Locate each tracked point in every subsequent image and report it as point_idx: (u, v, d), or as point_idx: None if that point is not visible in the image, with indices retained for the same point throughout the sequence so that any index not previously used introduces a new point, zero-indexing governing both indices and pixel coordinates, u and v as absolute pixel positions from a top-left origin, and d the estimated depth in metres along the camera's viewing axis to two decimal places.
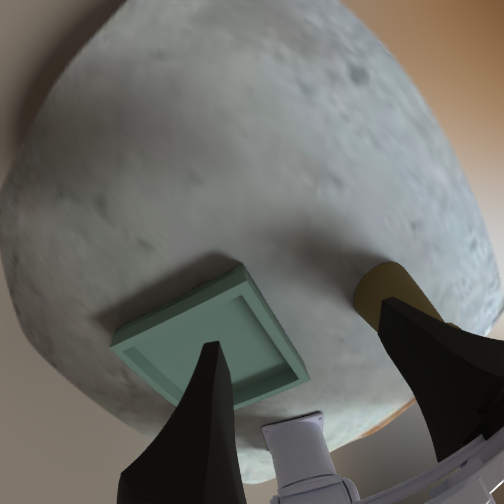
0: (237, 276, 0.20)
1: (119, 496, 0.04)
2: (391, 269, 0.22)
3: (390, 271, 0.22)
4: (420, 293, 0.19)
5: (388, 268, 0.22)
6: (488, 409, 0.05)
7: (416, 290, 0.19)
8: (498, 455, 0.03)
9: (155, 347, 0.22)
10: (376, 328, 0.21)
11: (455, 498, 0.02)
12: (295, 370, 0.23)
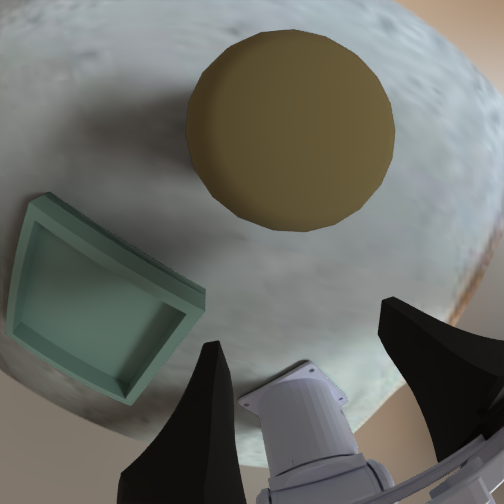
0: None
1: (119, 496, 0.04)
2: None
3: None
4: None
5: None
6: (488, 409, 0.05)
7: None
8: (498, 455, 0.03)
9: (42, 322, 0.17)
10: None
11: (455, 498, 0.02)
12: (167, 301, 0.16)
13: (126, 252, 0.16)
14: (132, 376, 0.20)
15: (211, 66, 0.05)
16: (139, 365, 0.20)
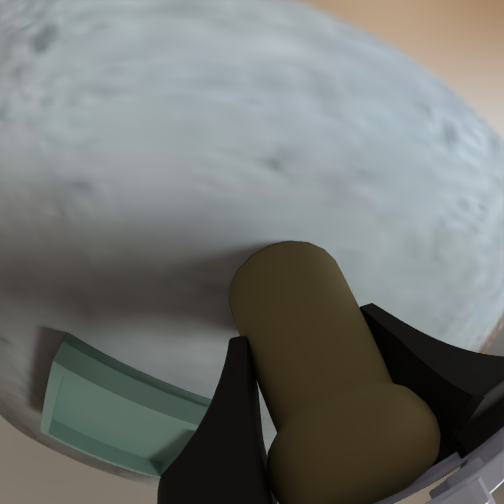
0: None
1: (162, 500, 0.04)
2: (264, 262, 0.12)
3: (262, 266, 0.12)
4: (313, 304, 0.10)
5: (260, 261, 0.13)
6: (464, 427, 0.05)
7: (304, 299, 0.10)
8: (498, 455, 0.03)
9: (75, 423, 0.17)
10: None
11: (455, 498, 0.02)
12: None
13: (162, 394, 0.15)
14: (165, 458, 0.20)
15: (306, 486, 0.05)
16: (172, 453, 0.19)
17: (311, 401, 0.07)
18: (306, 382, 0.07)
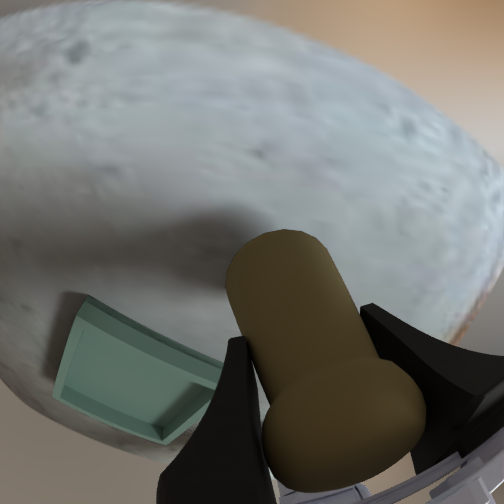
0: None
1: (161, 500, 0.04)
2: (259, 248, 0.13)
3: (257, 252, 0.13)
4: (305, 285, 0.10)
5: (255, 247, 0.13)
6: (464, 426, 0.05)
7: (296, 281, 0.11)
8: (498, 455, 0.03)
9: (86, 387, 0.21)
10: None
11: (455, 498, 0.02)
12: (204, 384, 0.19)
13: (167, 348, 0.19)
14: (167, 423, 0.24)
15: (299, 451, 0.05)
16: (174, 416, 0.23)
17: (303, 373, 0.07)
18: (298, 355, 0.08)
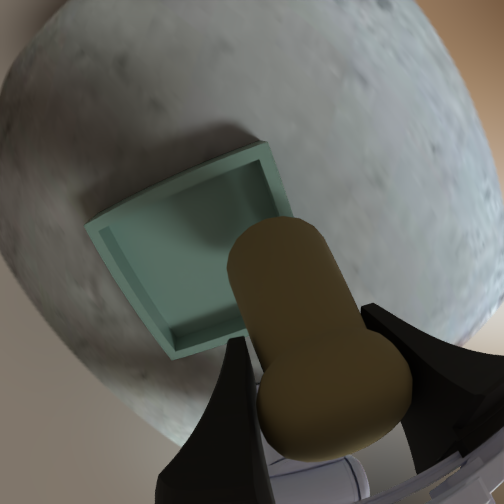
0: (255, 144, 0.16)
1: (159, 500, 0.04)
2: (260, 232, 0.14)
3: (258, 235, 0.14)
4: (301, 264, 0.11)
5: (256, 231, 0.14)
6: (465, 426, 0.05)
7: (294, 260, 0.12)
8: (498, 455, 0.03)
9: (138, 239, 0.19)
10: None
11: (455, 498, 0.02)
12: None
13: None
14: (190, 332, 0.22)
15: (292, 408, 0.06)
16: (208, 325, 0.22)
17: (297, 339, 0.08)
18: (293, 324, 0.09)
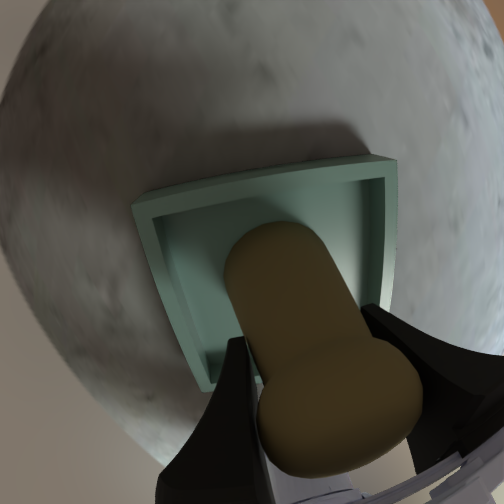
0: (376, 157, 0.13)
1: (159, 500, 0.04)
2: (257, 237, 0.14)
3: (255, 241, 0.13)
4: (301, 270, 0.11)
5: (253, 237, 0.14)
6: (465, 426, 0.05)
7: (293, 266, 0.11)
8: (498, 455, 0.03)
9: (199, 239, 0.14)
10: None
11: (455, 498, 0.02)
12: None
13: None
14: None
15: (294, 425, 0.06)
16: None
17: (298, 350, 0.08)
18: (293, 334, 0.08)
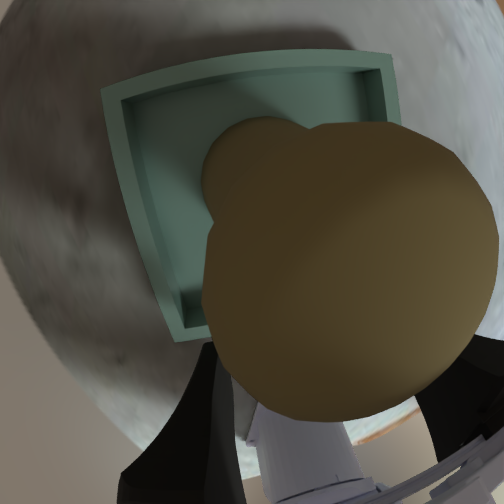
0: None
1: (119, 496, 0.04)
2: (239, 125, 0.11)
3: (236, 128, 0.11)
4: (286, 127, 0.08)
5: (234, 127, 0.11)
6: (488, 409, 0.05)
7: (276, 127, 0.08)
8: (498, 455, 0.03)
9: (174, 136, 0.11)
10: None
11: (455, 498, 0.02)
12: None
13: None
14: None
15: (260, 212, 0.03)
16: None
17: None
18: None
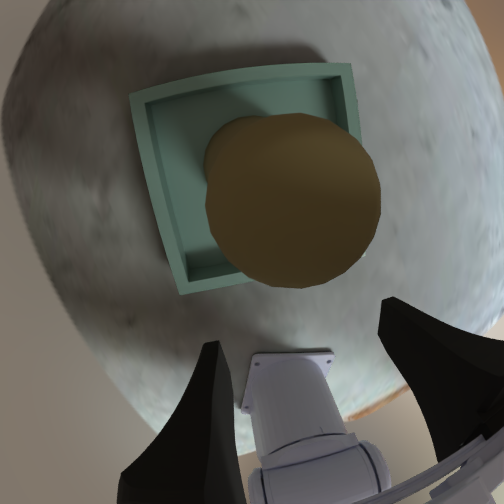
0: None
1: (119, 496, 0.04)
2: (232, 122, 0.14)
3: (229, 124, 0.14)
4: None
5: (228, 124, 0.15)
6: (488, 409, 0.05)
7: None
8: (498, 455, 0.03)
9: (183, 130, 0.15)
10: None
11: (455, 498, 0.02)
12: None
13: None
14: (208, 264, 0.19)
15: (231, 152, 0.07)
16: None
17: None
18: None
